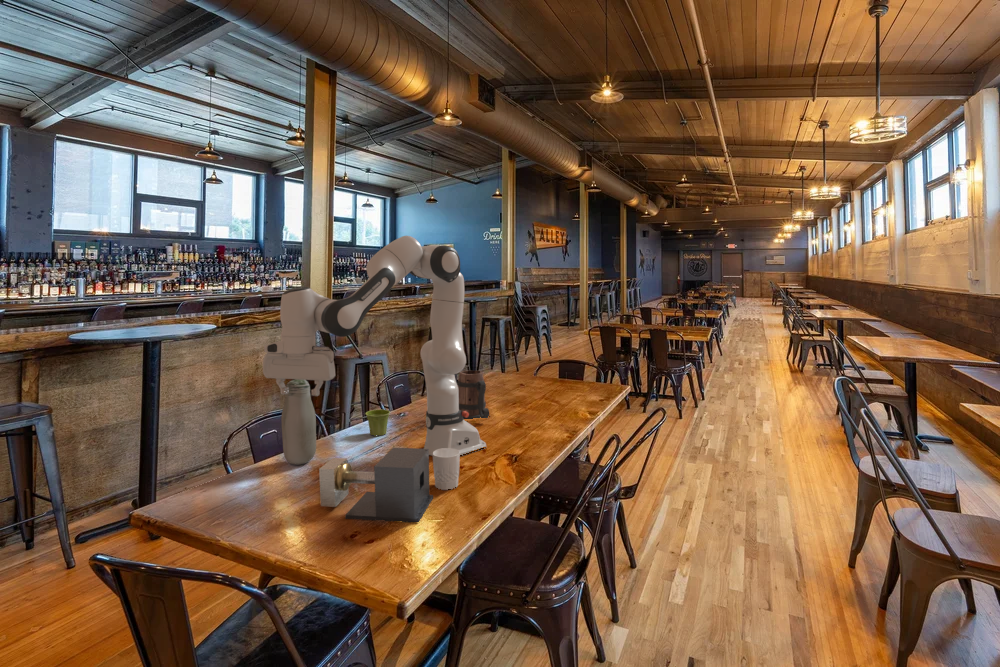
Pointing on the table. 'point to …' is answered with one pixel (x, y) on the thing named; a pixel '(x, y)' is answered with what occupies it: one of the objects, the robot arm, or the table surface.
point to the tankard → (472, 394)
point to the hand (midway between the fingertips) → (300, 394)
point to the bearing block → (397, 488)
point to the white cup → (446, 468)
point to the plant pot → (378, 421)
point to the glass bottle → (298, 423)
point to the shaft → (339, 480)
